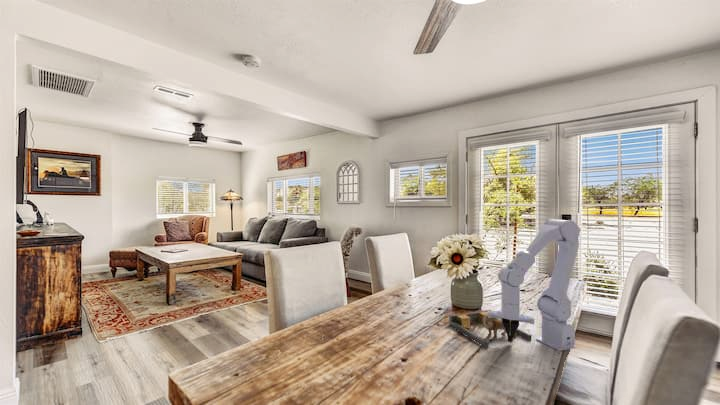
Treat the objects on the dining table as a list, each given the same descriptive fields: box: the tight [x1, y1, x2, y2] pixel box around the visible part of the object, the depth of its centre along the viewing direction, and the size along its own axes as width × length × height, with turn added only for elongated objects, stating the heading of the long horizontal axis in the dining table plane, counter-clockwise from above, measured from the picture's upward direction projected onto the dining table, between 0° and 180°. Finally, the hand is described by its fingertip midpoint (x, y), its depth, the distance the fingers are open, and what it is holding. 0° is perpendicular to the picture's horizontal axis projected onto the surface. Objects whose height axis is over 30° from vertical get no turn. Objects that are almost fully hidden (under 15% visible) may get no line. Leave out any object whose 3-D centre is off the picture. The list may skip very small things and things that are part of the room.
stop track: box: [448, 309, 532, 349], centre depth 117 cm, size 21×20×4 cm
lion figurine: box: [482, 314, 517, 340], centre depth 113 cm, size 15×5×9 cm, turn 109°
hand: (510, 340), depth 106 cm, fingers closed
